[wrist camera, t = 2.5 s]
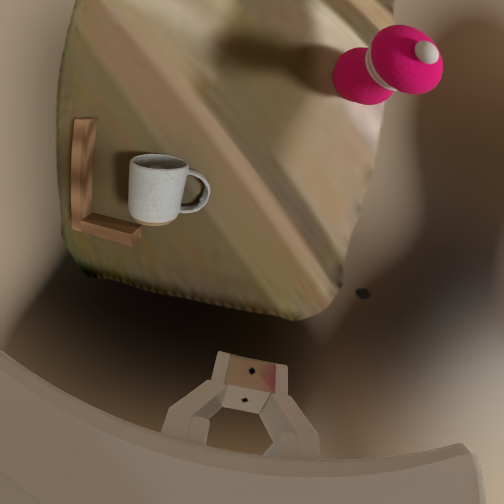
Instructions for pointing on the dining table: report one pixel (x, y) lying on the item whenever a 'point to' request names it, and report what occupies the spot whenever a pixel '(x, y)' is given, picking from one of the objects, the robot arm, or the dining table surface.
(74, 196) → the walnut stop
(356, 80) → the pepper mill
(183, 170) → the ceramic mug
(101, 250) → the dining table surface
